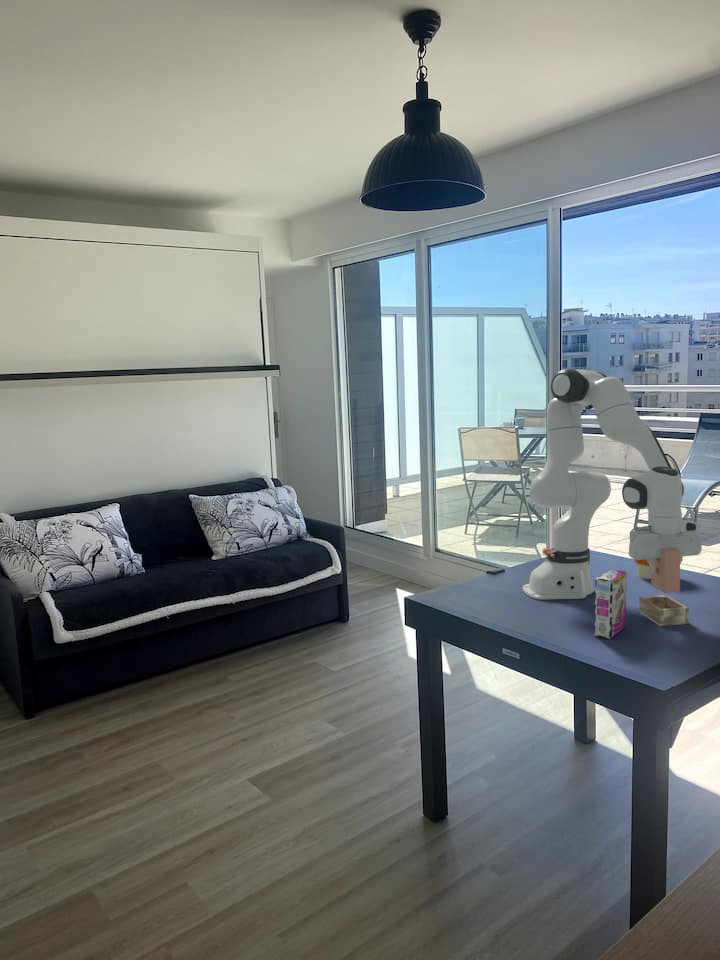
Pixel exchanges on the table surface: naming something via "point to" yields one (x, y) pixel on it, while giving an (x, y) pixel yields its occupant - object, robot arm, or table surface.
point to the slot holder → (663, 610)
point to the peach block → (667, 571)
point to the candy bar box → (610, 603)
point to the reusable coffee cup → (643, 569)
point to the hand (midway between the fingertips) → (664, 572)
